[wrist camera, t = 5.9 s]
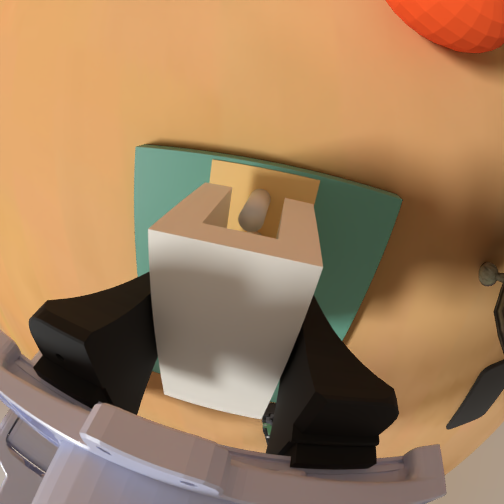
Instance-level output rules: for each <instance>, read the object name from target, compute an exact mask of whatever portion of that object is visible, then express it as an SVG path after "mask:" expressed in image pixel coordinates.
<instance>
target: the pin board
mask: <svg viewBox="0 0 504 504" xmlns="http://www.w3.org/2000/svg"><path fill="white" fill-rule="evenodd" d="M204 183H211V184H217V185H223V186H228V187H232V194H231V201H230V209H229V216H228V223H227V228H228V229H233V230H238V231H242V232H247V233H252V234H257V235H261V236H266V237H270V238H275V239H276V236H277V231H278V227H279V222H280V218H281V213H282V209H283V204H284V199H285V198H288V199H293V200H297V201H302V202H306V203H310V204H313V206H314V211H315V217H316V223H317V229H318V235H319V242H320V249H321V255H322V263H323V269H322V272H321V275H320V278H319V280H318V283H317V286H316V289H315V292H314V296H315V298H316V300H317V302H318V304H319V306H320V308H321V309H322V311H323V313H324V315H325V317H326V318H327V320H328V322H329V323H330V325H331V327H332V328H333V330H334V331H335V333H336V334H337V335H338V337H339V338H340V339H341V340H343V338H344V337H345V335H346V333H347V331H348V329H349V327H350V325H351V323H352V321H353V319H354V317H355V315H356V313H357V311H358V309H359V307H360V305H361V303H362V301H363V299H364V297H365V294H366V292H367V290H368V288H369V286H370V283H371V281H372V279H373V277H374V274H375V272H376V270H377V267H378V265H379V263H380V260H381V258H382V255H383V253H384V250H385V248H386V245H387V243H388V240H389V238H390V235H391V232H392V230H393V227H394V224H395V221H396V218H397V216H398V213H399V210H400V207H401V204H402V201H403V200H402V199H401V198H400V197H399V196H398V195H397V194H394V193H391V192H388V191H384V190H381V189H378V188H375V187H371V186H368V185H365V184H361V183H358V182H354V181H351V180H347V179H343V178H339V177H336V176H332V175H328V174H324V173H320V172H316V171H311V170H307V169H303V168H298V167H294V166H289V165H285V164H280V163H275V162H270V161H265V160H259V159H254V158H248V157H243V156H237V155H231V154H224V153H217V152H211V151H203V150H196V149H187V148H179V147H169V146H159V145H147V144H144V145H141V146H137V147H136V151H135V176H134V219H135V245H136V261H137V274H138V277H139V276H141V275H143V274H145V273H147V272H149V249H148V229H149V228H150V227H151V226H152V225H153V224H154V223H156V222H157V221H158V220H159V219H160V218H162V217H163V216H164V215H165V214H166V213H167V212H169V211H170V210H171V209H172V208H174V207H175V206H176V205H177V204H178V203H180V202H181V201H182V200H183V199H185V198H186V197H187V196H188V195H190V194H191V193H192V192H193V191H195V190H196V189H197V188H199V187H200V186H201V185H202V184H204ZM152 371H154V372H157V373H160V366H159V360H158V358H157V360H156V362H155V365H154V367H153V370H152ZM160 374H161V373H160ZM279 382H280V380H279ZM279 382H278V384H277V386H276V389H275V391H274V393H273V395H272V398H271V400H270V402H275V403H276V401H277V395H278V389H279Z"/></svg>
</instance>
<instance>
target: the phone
mask: <svg viewBox="0 0 504 504" xmlns="http://www.w3.org/2000/svg"><path fill="white" fill-rule="evenodd" d="M503 389H504V360H502V361H499V362H497V363H495V364H492V365H490V366H488V367H487V368H485V369H484V370H483V371H482V372H481V373H480V375H479V376H478V378H477V380H476V382H475V383H474V385H473V387H472V388H471V390H470V392H469V393H468V395H467V396H466V398H465V400H464V401H463V403H462V404H461V406H460V407H459V409H458V410H457V412H456V413H455V414H454V416H453V417H452V419H451V420H450V421H449V423H448V424H447V426H446V428H447V429H452V428H455V427H458V426H460V425H463V424H466V423H468V422H471V421H473V420H475V419H478V418H480V417H481V416H483V415H484V414H485V413H486V412H487V411H488V409H489V408H490V407H491V405H492V404H493V403H494V402H495V400H496V399H497V398H498V396H499V395H500V393H501V392H502V391H503Z"/></svg>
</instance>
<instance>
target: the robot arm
mask: <svg viewBox="0 0 504 504" xmlns="http://www.w3.org/2000/svg"><path fill="white" fill-rule="evenodd" d="M29 328H30V331H31V334H32V336H33V338H34V340H35V342H36V344H37V346H38V348H39V351H38V353H37V354H36V355H35V356H34V358H33V359H32V360H29V359H28V358H27V357H25V356H24V355H23V354H21V351H20V349H19V348H18V346H17V344H16V343H15V342H14V341H13V340H12V339H11V338H10V337H9V336H8V335H6V334H5V333H4V332H3V331H1V330H0V400H1V401H2V402H3V403H4V404H5V405H6V406H7V407H9V408H10V409H9V411H8V412H7V414H6V415H5V417H4V419H3V421H2V422H1V424H0V464H1V466H2V468H3V470H4V472H5V474H6V477H5V479H4V481H3V483H2V485H1V487H0V504H425V503H428V502H431V501H433V500H436V499H438V498H440V497H443V496H445V495H446V484H445V477H444V469H443V462H442V456H441V450H440V445H439V444H435V445H429V446H422V447H417V448H415V449H412V450H410V451H409V452H407V453H406V454H405V455H404V456H398V457H387V458H376V446H377V445H379V434H381V433H382V432H383V431H384V430H385V429H387V428H388V427H389V426H390V425H391V424H392V423H393V422H394V421H395V420H396V419H397V417H398V414H399V411H398V405H397V398H396V395H395V391H394V389H393V388H392V387H391V386H389V385H388V384H387V383H385V382H384V381H383V380H381V379H380V378H378V377H377V376H376V375H375V374H373V373H372V372H371V371H370V370H369V369H368V368H367V367H365V366H364V365H363V364H362V363H361V362H360V361H359V360H358V359H357V358H356V357H355V356H354V354H353V353H352V352H351V351H350V350H349V349H348V348H347V347H346V346H345V344H344V343H343V342H342V340H341V339H340V338H339V337H338V335H337V334H336V333H335V331H334V330H333V328H332V327H331V325H330V323H329V322H328V320H327V318H326V317H325V315H324V313H323V311H322V309H321V308H320V306H319V304H318V302H317V300H316V298H315V296H314V295H313V297H312V300H311V303H310V305H309V308H308V311H307V314H306V316H305V319H304V321H303V324H302V327H301V329H300V332H299V334H298V337H297V339H296V342H295V344H294V347H293V349H292V352H291V354H290V356H289V359H288V361H287V363H286V366H285V368H284V370H283V373H282V375H281V377H280V382H279V389H278V395H277V401H276V407H275V412H274V418H273V423H272V428H271V432H270V437H269V442H268V446H267V450H266V453H260V452H254V451H248V450H243V449H238V448H233V447H228V446H224V445H220V444H217V443H216V442H214V441H211V440H208V439H205V438H202V437H199V436H196V435H193V434H190V433H186V432H183V431H180V430H177V429H173V428H170V427H167V426H164V425H162V424H159V423H156V422H153V421H151V420H148V419H145V418H143V417H140V416H138V415H137V413H138V410H139V407H140V403H141V400H142V397H143V394H144V391H145V388H146V386H147V383H148V380H149V378H150V375H151V372H152V370H153V367H154V365H155V362H156V360H157V358H158V353H157V346H156V338H155V330H154V321H153V311H152V300H151V287H150V271H149V272H147V273H145V274H143V275H141V276H139V277H137V278H135V279H133V280H131V281H129V282H126V283H124V284H121V285H119V286H116V287H113V288H110V289H107V290H104V291H100V292H97V293H93V294H89V295H85V296H80V297H74V298H68V299H58V300H47V301H46V302H45V303H44V304H43V305H42V306H41V307H40V308H39V309H38V311H37V312H36V313H35V314H34V315H33V316H32V317H31V318H30V319H29ZM8 434H9V435H8ZM11 446H12V447H13V448H14V449H16V450H17V451H18V452H19V453H20V454H22V455H23V456H24V457H26V458H27V459H28V460H29V461H31V462H32V463H33V464H35V465H36V466H38V467H39V468H40V469H42V470H43V471H45V472H46V474H45V473H43V472H42V471H40V470H39V469H38V468H36V467H35V466H34V465H32V464H31V463H30V462H28V461H27V460H26V459H24V458H23V457H22V456H20V455H19V454H18V453H17V452H16V451H15V450H14V449H13V448H12V447H11Z"/></svg>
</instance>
